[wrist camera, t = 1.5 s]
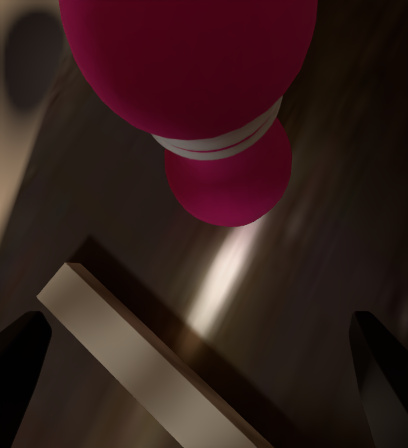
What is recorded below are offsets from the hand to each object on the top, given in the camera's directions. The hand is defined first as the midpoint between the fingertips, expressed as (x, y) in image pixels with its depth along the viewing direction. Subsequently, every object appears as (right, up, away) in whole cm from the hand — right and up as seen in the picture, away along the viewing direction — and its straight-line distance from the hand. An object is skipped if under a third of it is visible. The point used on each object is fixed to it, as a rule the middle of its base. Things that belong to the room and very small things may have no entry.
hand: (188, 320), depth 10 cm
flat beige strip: (-2, -7, +13) cm, 15 cm away
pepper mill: (+3, +6, +14) cm, 16 cm away
